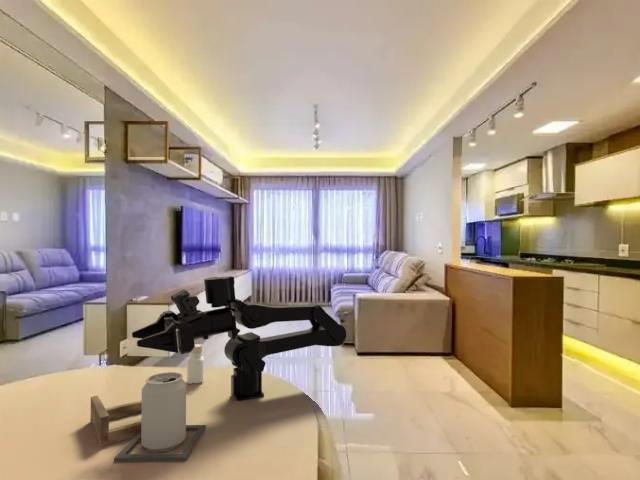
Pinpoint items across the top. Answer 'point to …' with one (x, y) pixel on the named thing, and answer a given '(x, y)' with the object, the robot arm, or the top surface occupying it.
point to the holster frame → (126, 457)
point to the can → (163, 412)
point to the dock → (103, 415)
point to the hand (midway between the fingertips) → (134, 339)
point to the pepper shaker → (195, 365)
